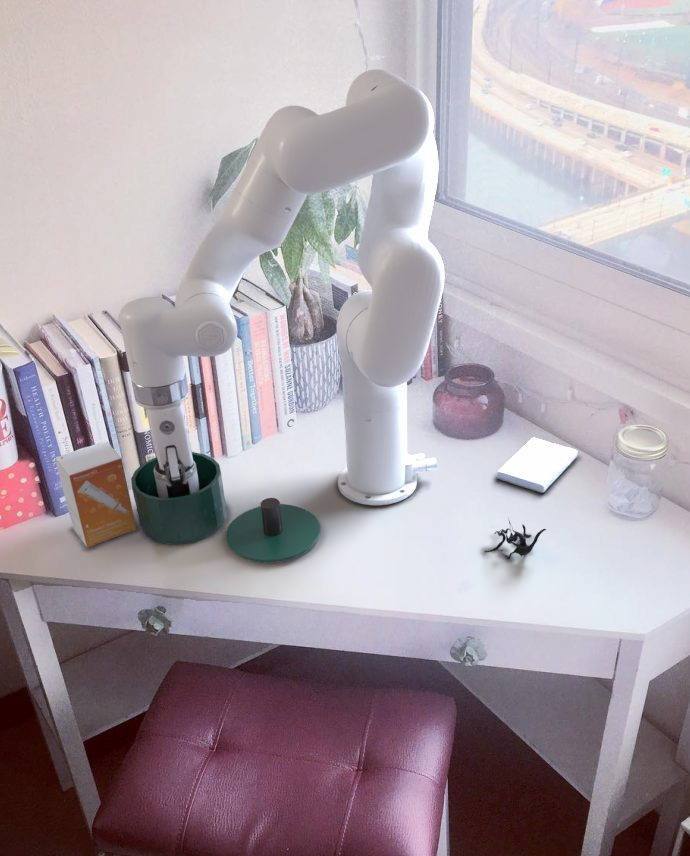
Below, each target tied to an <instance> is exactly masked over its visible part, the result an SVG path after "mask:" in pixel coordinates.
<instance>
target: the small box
mask: <svg viewBox="0 0 690 856" xmlns="http://www.w3.org/2000/svg"><path fill="white" fill-rule="evenodd" d="M54 460H55V464H56V469H57V472H58V476H59V479H60V483H61V487H62V492H63V495H64V499H65V503H66V508H67V511H68V514H69V517H70V521H71V525H72V529H73V531H74V532H75V533H76V534H77V536H78V537H79V538H80V540H81V541H82V543H83V544H84V545H85V547H86V548H87V549H88V548H91V547H93V546H95V545H98V544H101V543H103V542H106V541H108V540H111V539H114V538H116V537H119V536H122V535H124V534H127V533H131V532H134V531H136V530H137V524H136V520H135V515H134V510H133V506H132V500H131V495H130V491H129V488H128V482H127V481H128V480H127V477H126V472H125V468H124V467H125V466H124V462H123V458H122V457H121V455H120V454H119V453H118V452H117V451H116V450H115V448H113V446H112V445H111V444H110V442H108V441H107V440H105V441H102V442H98V443H95V444H92V445H89V446H85V447H81V448H78V449H75V450H74V451H71V452H67V453H64V454H62V455H59V456H55V457H54Z"/></svg>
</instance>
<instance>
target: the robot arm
mask: <svg viewBox="0 0 690 856" xmlns="http://www.w3.org/2000/svg"><path fill="white" fill-rule="evenodd" d="M434 115H435V114H434V111H433V108H432V105H431V103H430V101H429V99H428V98H427V96H426V95H425V94H424V93H423V91H421V89H419V88H418V87H416V86H414V85H413V84H411V83H410V82H408V81H406V80H404V79H403V78H402V77H400V76H399V75H396V74H395V73H393V72H391V71H388V70H384V69H378V68H377V69H375V68H374V69H370V70H366V71H364V72H362V73H360V74H359V75H358V76H357V77H355V78H354V80H352V83H351V84H350V86H349V89H348V91H347V94H346V100H345V106H343V107H340V108H336V109H334V110H332V111H329V112H325V113H321V114H318V113H317V112H315V111H313V110H312V109H310V108H307V107H304V106H301V105H286V106H284V107H280V108H279V109H277V110H276V111H275V112H274V113H273V114H272V115H271V117H270V118H269V119H268V121H267V122H266V124H265V126H264V128H263V130H262V132H261V133H260V136H259V137H258V139H257V142H256V144H255V146H254V147H253V149H252V151H251V154H250V156H249V158H248V160H247V162H246V165H245V167H244V169H243V171H242V173H241V175H240V176H239V179H238V182H237V183H236V186H235V187H234V189H233V191H232V193H231V195H230V197H229V199H228V201H227V203H226V205H225V206H224V209H223V211H222V212H221V214H220V215H219V216H218V217H217V219H216V220H215V221H214V222H213V225H212V226H211V228H210V229H209V230H208V232H207V233H206V234H205V235H204V237H203V238H202V240H201V241H200V243H199V244H198V246H197V248H196V250H195V252H194V253H193V255H192V258H191V260H190V262H189V264H188V266H187V268H186V270H185V272H184V274H183V277H182V279H181V281H180V283H179V285H178V288H177V291H176V294H175V298H174V299H175V300H174V305H173V303H172V302H170V301H169V300H168V299H166V298H162V297H159V296H147V297H139V298H136V299H132V300H130V301H128V302H126V303H125V304H124V305H123V306H122V307H121V309H120V311H119V315H118V316H119V317H118V319H119V326H120V331H121V335H122V341H123V345H124V351H125V355H126V356H125V357H126V360H127V365H128V370H129V375H130V381H131V386H132V390H133V391H132V392H133V396H134V401H135V403H136V404H137V405H138V406H139V407H141V408H144V409H145V412H146V417H147V422H148V427H149V431H150V436H151V440H152V445H153V448H154V452H155V455H156V457H157V459H158V463H159V466H160V469H162V470H163V471H164V469H165V472H166V478H167V484H168V485H166V487H167V492H168V498H175V497H181V496H186V495H189V494H190V489H189V483H188V481H187V482H186V476H185V470H184V466H185V467H187V466H190V467H191V466H192V465H193V457H192V452H193V450H192V444H191V438H190V431H189V426H188V425H189V424H188V419H187V414H186V413H187V412H186V409H185V403H184V402H185V401H186V400H187V399H188V397H189V395H190V393H189V385H188V379H187V373H186V366H185V360H184V357H195V358H196V357H197V358H198V357H200V358H203V357H204V358H206V357H207V358H209V357H210V358H211V357H217V356H220V355H223V354H225V353H227V352H228V351H229V350H230V349H232V347H233V346H234V345H235V343H236V341H237V338H238V323H237V320H236V317H235V315H234V312H233V310H232V307H231V304H230V302H231V299H232V297H233V295H234V293H235V291H236V289H237V288H238V285H239V284H240V282H241V280H242V278H243V276H244V274H245V273H246V271H247V270H248V268H249V267H250V265H251V264H253V262H254V261H255V260H256V259H257V258H258V257H259V256H261V255H262V254H264V253H267V252H269V251H270V252H271V251H273V250H275V249H277V248H279V247H280V246H281V245H282V244H283V243H284V241H285V239H286V237H287V235H288V234H289V232H290V229H291V228H292V226H293V225H294V222H295V220H296V218H297V216H298V214H299V212H300V211H301V209H302V206H303V205H304V202H305V201H306V199H307V197H308V195H316V194H322V193H325V192H329V191H332V190H336V189H339V188H342V187H344V186H347V185H350V184H352V183H355V182H358V181H360V180H362V179H365V178H367V177H370V176H372V181H371V187H370V193H369V199H368V204H367V208H366V213H365V218H364V223H363V227H362V232H361V235H360V239H359V245H358V249H357V257H356V258H357V264H358V269H359V270H360V272H361V275H362V276H363V277H364V279H365V281H366V282H367V283H368V285H369V286H370V287H371V289H365V290H360V291H358V292H356V293H354V294H352V295H351V296H350V297H348V298H347V299H346V300H345V301H344V303H343V304H342V306H341V307H340V309H339V312H338V314H337V320H336V340H337V346H338V347H337V348H338V354H339V361H340V368H341V369H340V370H341V379H342V380H341V381H342V395H343V396H342V397H343V398H342V400H343V401H342V402H343V417H344V418H343V419H344V421H343V422H344V435H345V436H344V437H345V440H344V441H345V457H346V466H345V467H344V468H342V470H341V471H340V473H339V474H338V477H337V486H338V487H337V488H338V490H339V492H340V493H341V495H343V496H344V497H345V498H346V499H348V500H350V501H351V502H354V503H356V504H361V505H365V506H389V505H392V504H396V503H398V502H402V501H404V500H405V499H407V498H408V497H410V496H411V495H412V494H413V493H414V491H415V490H416V488H417V485H418V475H419V473H422V472H431V471H437V470H438V462H437V459H436V458H435V457H432V458H431V457H430V458H426V457H425V453H424V452H420V453H414V454H410V453H408V421H407V420H408V418H407V417H408V414H407V413H408V410H407V409H408V407H407V406H408V405H407V404H408V403H407V398H408V384H407V383H408V381H410V380H411V379H412V378H413V377H414V376H415V375H416V374H417V373H418V371H419V370H420V368H421V367H422V365H423V363H424V360H425V358H426V355H427V352H428V349H429V346H430V341H431V338H432V335H433V331H434V327H435V323H436V320H437V317H438V312H439V308H440V305H441V300H442V297H443V292H444V285H445V267H444V263H443V259H442V257H441V254H440V253H439V251H438V250H437V248H436V247H435V246H434V245H433V243H432V242H430V240H429V238H428V232H429V226H430V221H431V216H432V213H433V212H432V211H433V207H434V202H435V196H436V191H437V186H438V179H439V155H438V149H437V143H436V140H435V136H434V133H433V131H434V125H435V117H434ZM178 460H180V461H181V464H178V462H177V461H178ZM166 461H167V462H169V466H167V462H166ZM179 469H181V474H182V475H180V474H179ZM169 471H170V473H171V476H170V474H169Z"/></svg>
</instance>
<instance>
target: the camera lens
mask: <svg viewBox="0 0 690 856" xmlns="http://www.w3.org/2000/svg"><path fill="white" fill-rule="evenodd" d="M166 462H167V461H166ZM177 462H178V464H181V461H180V460H178V461H177ZM167 466H169V462H167ZM184 470H185V476H186V482H187V481H188V483H189V489H190V494H192V493H195V492H198V491H200V489H199V482H198V475H197V469H196V464H195V462H194V461H193V465H192V466H191V467H190V466H187V467H185V466H184ZM169 474H170V476H171V473H170V471H169ZM179 474H180V475H182V474H181V469H179ZM154 476H155V481H156V487H157V492H158V497H159V498H168V492H167V487H166V485H168V484H167V478H166V472H165V469H164V471H163V470H162V469H160V466H159V463H158V462H157V464H156V465H155V467H154Z"/></svg>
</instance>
